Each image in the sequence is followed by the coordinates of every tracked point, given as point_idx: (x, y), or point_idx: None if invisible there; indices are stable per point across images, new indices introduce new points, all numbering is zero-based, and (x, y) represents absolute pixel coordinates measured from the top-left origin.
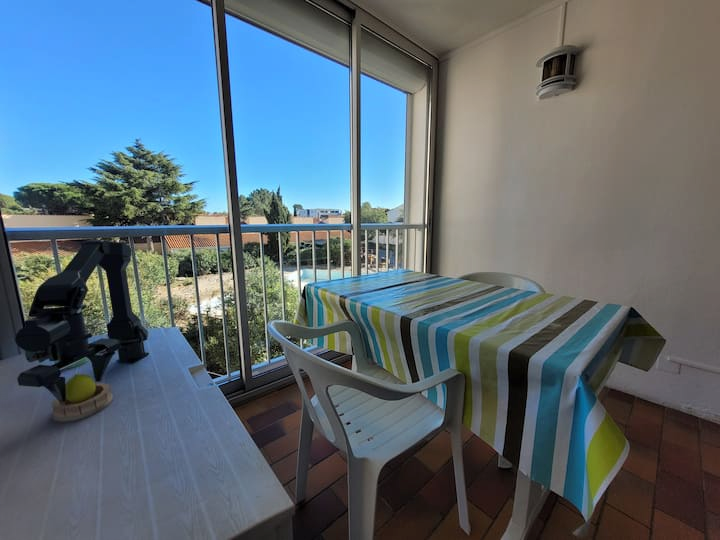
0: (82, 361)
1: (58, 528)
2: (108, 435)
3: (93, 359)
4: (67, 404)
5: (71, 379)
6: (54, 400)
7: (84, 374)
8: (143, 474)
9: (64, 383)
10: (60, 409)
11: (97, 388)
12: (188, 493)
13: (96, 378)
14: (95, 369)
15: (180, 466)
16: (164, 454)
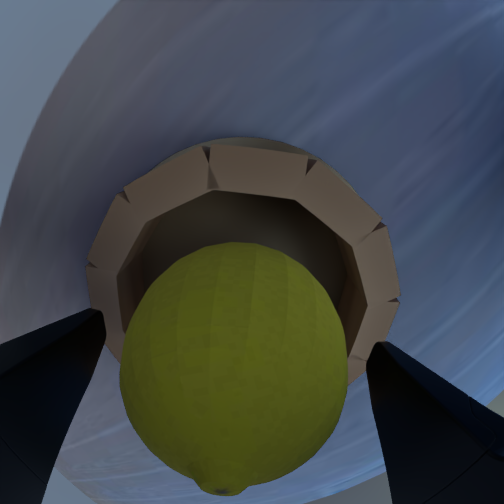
0: None
1: None
2: (125, 435)
3: (487, 500)
4: (227, 191)
5: (155, 448)
6: (153, 171)
7: (292, 470)
8: (96, 477)
9: (39, 489)
10: (94, 307)
11: (353, 309)
12: (104, 496)
13: (382, 367)
14: (423, 429)
15: (124, 496)
16: (130, 489)
